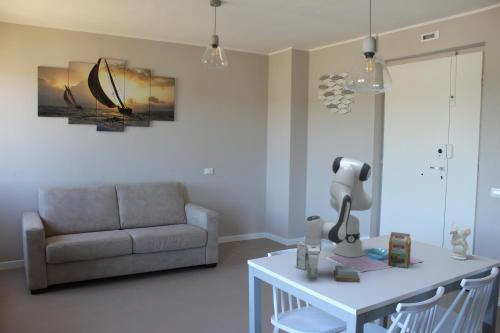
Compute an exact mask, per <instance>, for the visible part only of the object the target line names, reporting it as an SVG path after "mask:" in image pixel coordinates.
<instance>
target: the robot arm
mask: <svg viewBox="0 0 500 333" xmlns="http://www.w3.org/2000/svg"><path fill="white" fill-rule="evenodd" d="M331 166H332V167H331V168H332V172H333V173H334V174H335V175H334V177H333V180H332V181H331V184H330V187H329V193H330V194H329V195H330V200H329V202H330V206H331V208H332V209H333V210H334V211H336V213H337V218H336V222H331V221H328V220H326V219H323V218H322V217H321V216H319V215H310V216H308V217H307V218H306V221H305V224H304V234H305V235H304V236H305V237H304V242H305V250H306V251H307V253H308V259H309V264H310V269H311V275H315V269H317V270H318V265H319V257H320V254H321V252H322V239H324V240H326V241H330V242H332V243H333V244H336V247H335V250H334V255H339V256H341V257H346V258H347V257H348V258H358V257H361V256H365V252H364V251H363V242H362V240H360V238H361V233H360V220H359V219H358V217H356V216H354V215H352V214H351V211H352V212H353V211H357V212H364V211H368V210H369V211H370V209H371V208H372V206H373V198H372V197H371V195H370V194H368V193H367V192H365V190H364V182H366V181H368V180H369V178H370V177H371V175H372V167H371V165H370V164H368V163H366V162H363V161H360V160H358V159H353V158H347V157H344V156H337V157H336V158H334V160H333V162H332V165H331Z"/></svg>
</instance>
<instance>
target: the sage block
mask: <svg viewBox="0 0 500 333" xmlns="http://www.w3.org/2000/svg"><path fill="white" fill-rule="evenodd" d="M306 276H307V278H308V279H309V278H310V279H317V278H318V268H317V269H315V275H311V269H310V264H307V269H306Z"/></svg>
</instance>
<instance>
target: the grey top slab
mask: <svg viewBox="0 0 500 333" xmlns="http://www.w3.org/2000/svg"><path fill="white" fill-rule="evenodd" d="M334 268H335V269H334V270H335V271H336V273H337V275H338V277H358V275H359V271H358V269H357V268H356V267H355V265H338V264H337V265H335V267H334Z"/></svg>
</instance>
